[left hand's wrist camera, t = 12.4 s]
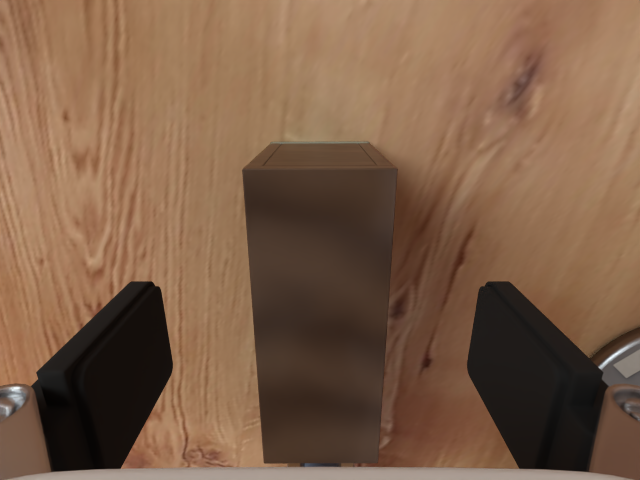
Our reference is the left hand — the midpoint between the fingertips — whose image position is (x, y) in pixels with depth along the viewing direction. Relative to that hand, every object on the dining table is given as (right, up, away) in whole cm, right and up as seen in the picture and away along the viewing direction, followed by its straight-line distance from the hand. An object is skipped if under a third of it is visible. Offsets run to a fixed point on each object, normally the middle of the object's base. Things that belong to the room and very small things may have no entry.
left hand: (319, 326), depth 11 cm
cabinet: (0, +1, +18) cm, 18 cm away
